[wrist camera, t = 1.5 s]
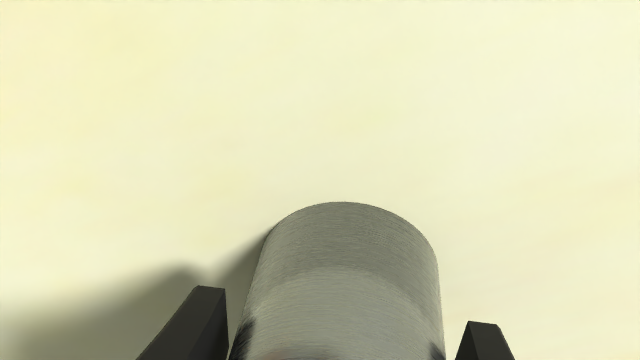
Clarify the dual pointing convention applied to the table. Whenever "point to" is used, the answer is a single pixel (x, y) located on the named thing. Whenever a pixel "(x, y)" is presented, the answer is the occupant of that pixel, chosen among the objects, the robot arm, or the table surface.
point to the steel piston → (343, 290)
